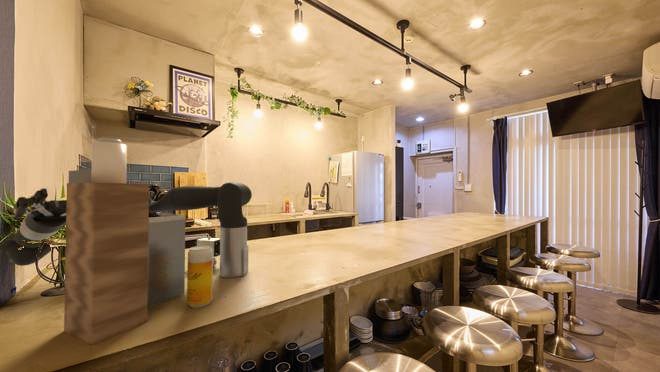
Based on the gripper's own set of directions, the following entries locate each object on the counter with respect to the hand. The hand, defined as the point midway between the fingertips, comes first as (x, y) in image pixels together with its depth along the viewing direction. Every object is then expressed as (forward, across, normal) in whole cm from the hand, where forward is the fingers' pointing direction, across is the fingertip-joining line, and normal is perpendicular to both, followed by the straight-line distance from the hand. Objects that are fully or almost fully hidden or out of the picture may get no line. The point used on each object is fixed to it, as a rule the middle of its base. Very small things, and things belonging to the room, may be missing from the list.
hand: (69, 191), depth 64 cm
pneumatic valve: (-16, -42, -26) cm, 52 cm away
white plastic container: (+10, -1, -4) cm, 11 cm away
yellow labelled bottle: (+6, -18, -39) cm, 43 cm away
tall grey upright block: (-6, -15, -32) cm, 35 cm away
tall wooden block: (-1, -1, -34) cm, 35 cm away
